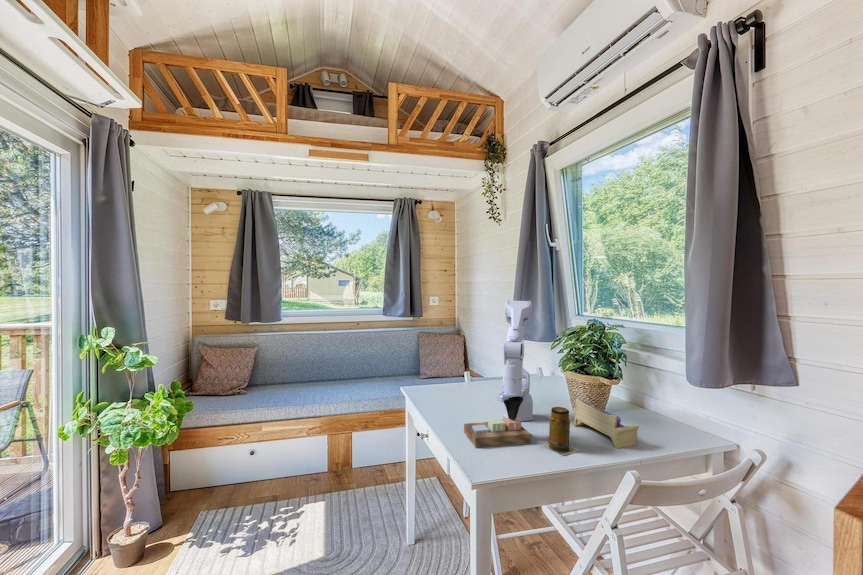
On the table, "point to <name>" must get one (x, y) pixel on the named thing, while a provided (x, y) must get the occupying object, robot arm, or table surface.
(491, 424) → the sage key
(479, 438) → the brown wooden tray
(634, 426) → the toy sofa
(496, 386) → the table surface
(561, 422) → the condiment
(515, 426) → the terracotta key
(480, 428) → the slate key
